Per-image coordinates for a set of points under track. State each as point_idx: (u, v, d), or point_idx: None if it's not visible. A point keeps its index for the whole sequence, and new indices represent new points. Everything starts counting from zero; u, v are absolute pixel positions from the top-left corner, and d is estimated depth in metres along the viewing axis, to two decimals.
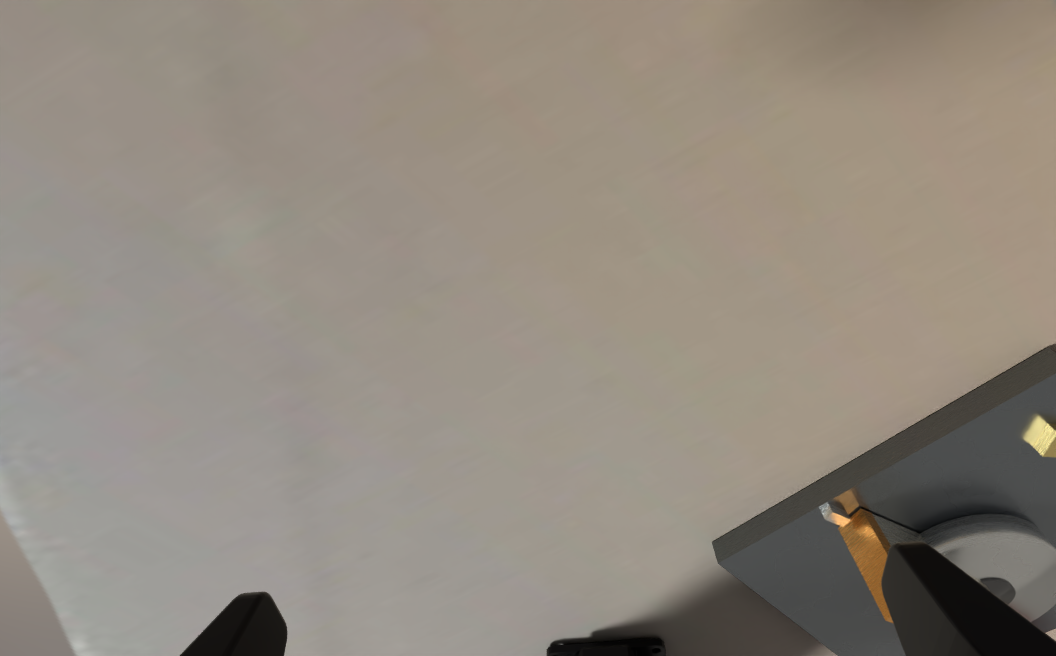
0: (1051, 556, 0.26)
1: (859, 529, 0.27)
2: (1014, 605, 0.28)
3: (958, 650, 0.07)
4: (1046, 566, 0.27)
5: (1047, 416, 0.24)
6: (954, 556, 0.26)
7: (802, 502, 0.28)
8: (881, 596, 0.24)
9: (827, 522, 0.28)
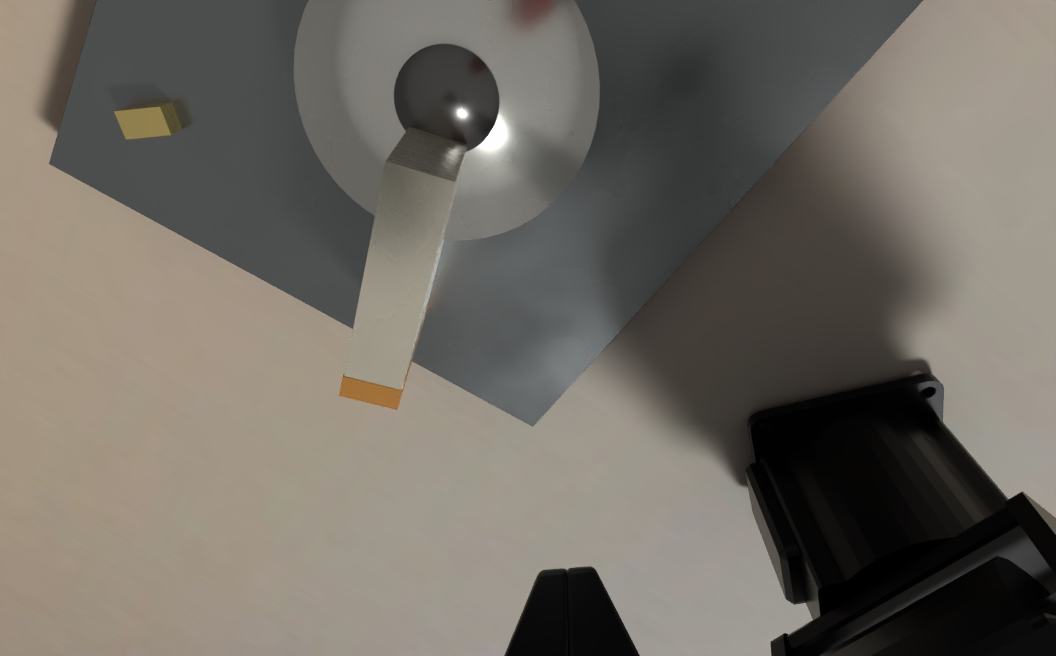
0: (311, 33, 0.14)
1: None
2: (462, 16, 0.13)
3: None
4: (339, 24, 0.14)
5: (129, 140, 0.17)
6: (369, 206, 0.16)
7: None
8: None
9: None
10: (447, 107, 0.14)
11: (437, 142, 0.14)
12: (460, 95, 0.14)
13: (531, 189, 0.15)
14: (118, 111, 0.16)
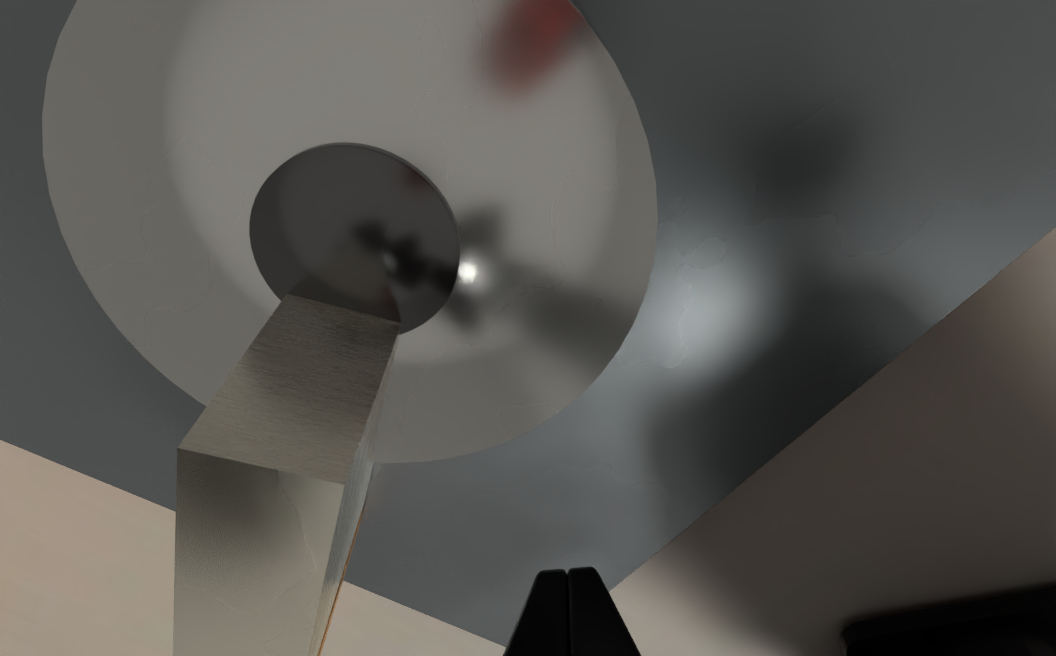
0: (71, 123, 0.07)
1: None
2: (377, 89, 0.06)
3: None
4: (126, 104, 0.07)
5: None
6: None
7: None
8: None
9: (354, 544, 0.13)
10: (357, 260, 0.07)
11: (336, 334, 0.07)
12: (381, 240, 0.07)
13: (523, 389, 0.08)
14: None
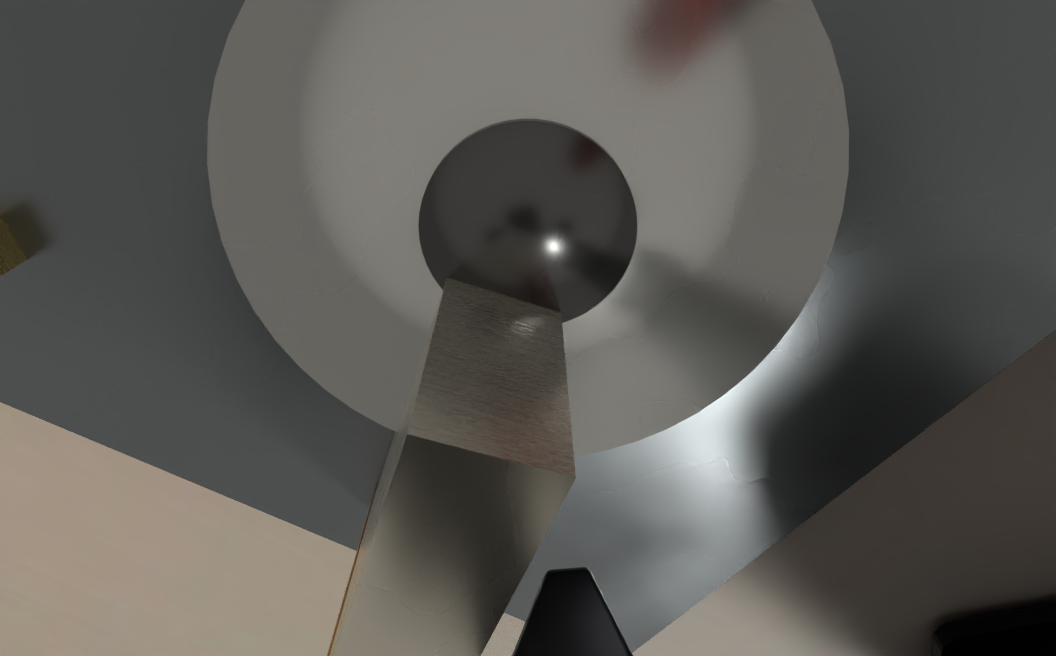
0: (244, 87, 0.06)
1: None
2: (577, 63, 0.06)
3: None
4: (307, 70, 0.06)
5: None
6: (358, 402, 0.08)
7: None
8: None
9: None
10: (528, 244, 0.07)
11: (507, 320, 0.07)
12: (558, 223, 0.07)
13: (668, 386, 0.08)
14: None
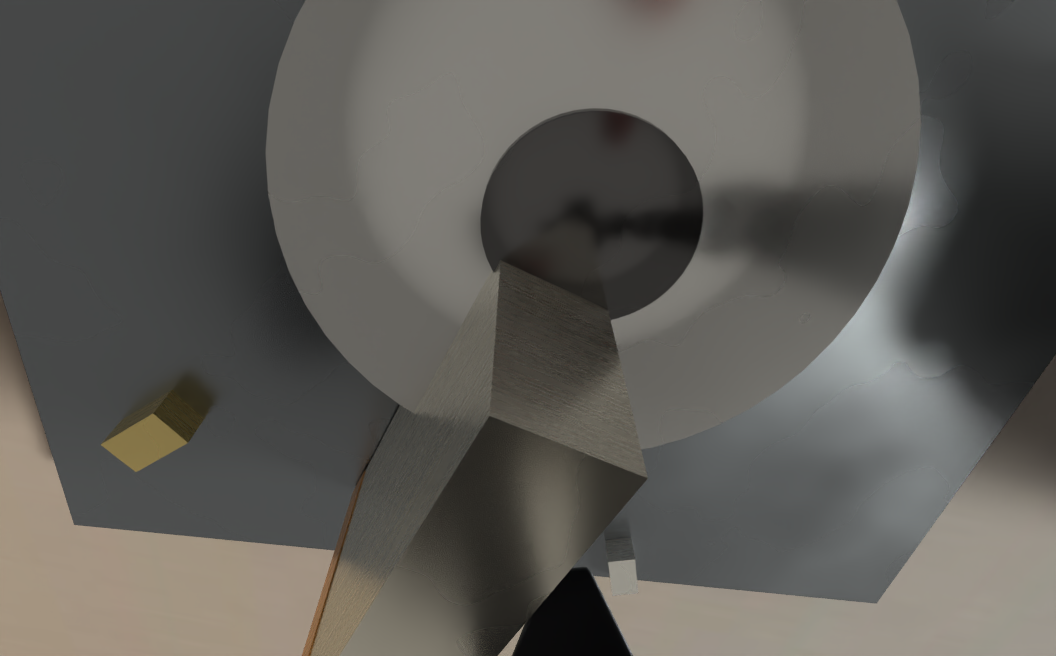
0: (326, 33, 0.06)
1: None
2: (673, 60, 0.06)
3: None
4: (396, 25, 0.06)
5: None
6: (380, 378, 0.08)
7: None
8: None
9: (655, 541, 0.12)
10: (589, 237, 0.07)
11: (561, 311, 0.07)
12: (623, 220, 0.07)
13: (696, 395, 0.08)
14: (106, 441, 0.10)
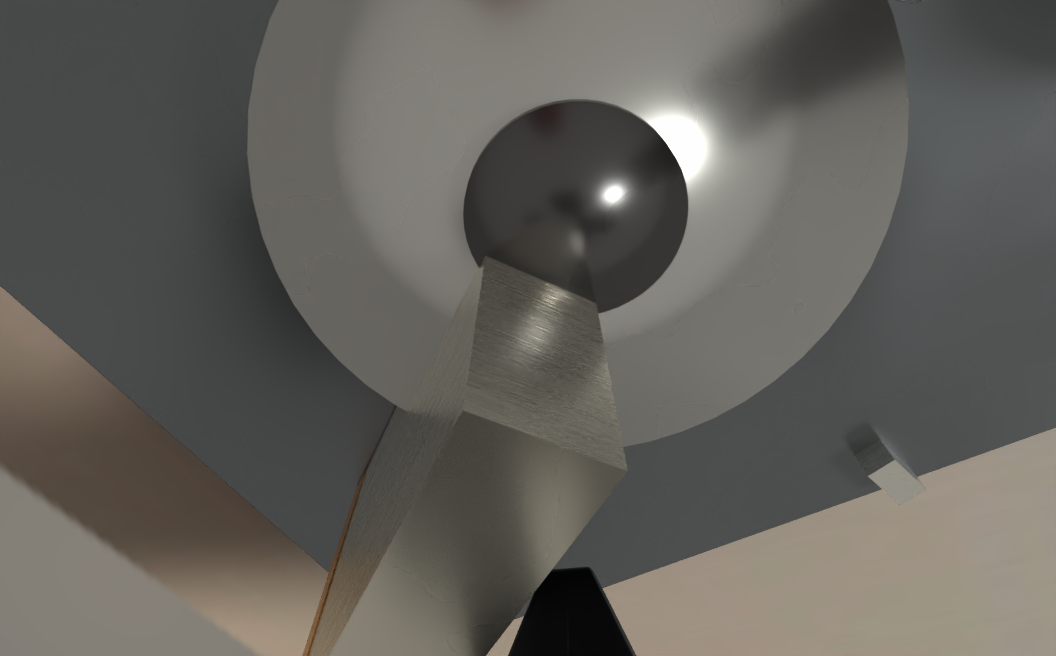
0: (301, 32, 0.06)
1: None
2: (651, 48, 0.06)
3: None
4: (370, 23, 0.06)
5: None
6: (372, 377, 0.08)
7: None
8: None
9: (910, 430, 0.11)
10: (574, 229, 0.07)
11: (547, 305, 0.07)
12: (607, 211, 0.07)
13: (690, 388, 0.08)
14: None
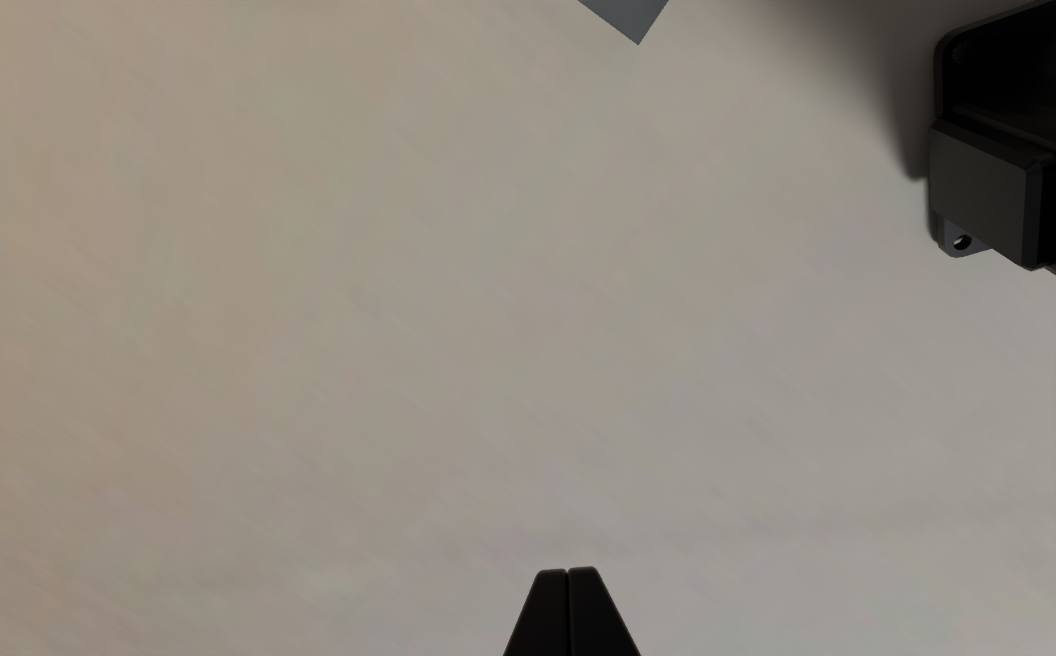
0: None
1: None
2: None
3: None
4: None
5: None
6: None
7: None
8: None
9: None
10: None
11: None
12: None
13: None
14: None
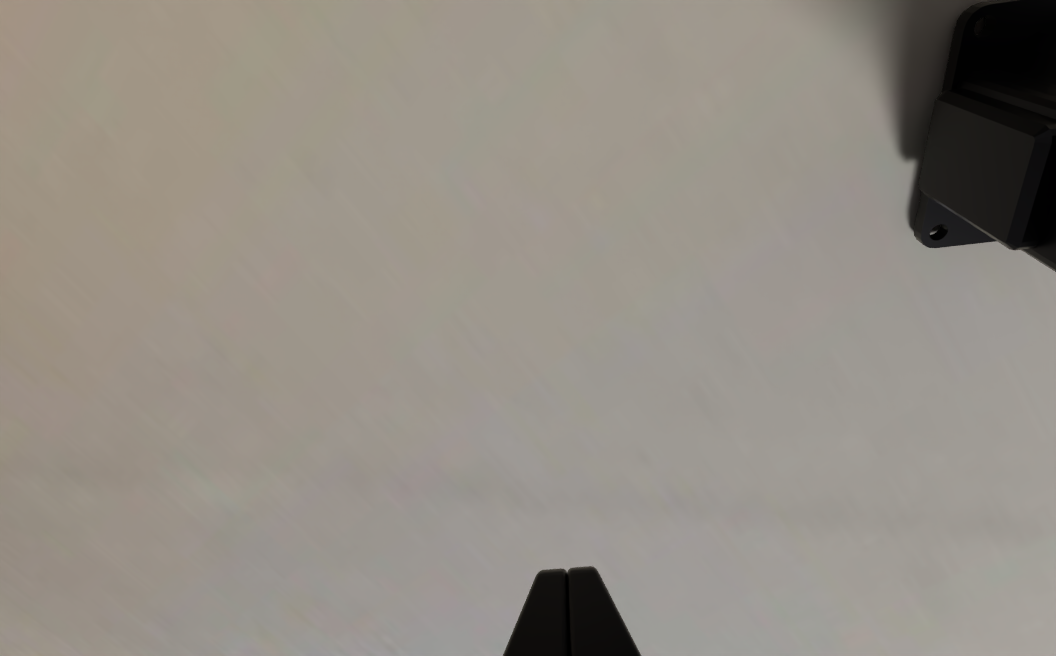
0: None
1: None
2: None
3: None
4: None
5: None
6: None
7: None
8: None
9: None
10: None
11: None
12: None
13: None
14: None
